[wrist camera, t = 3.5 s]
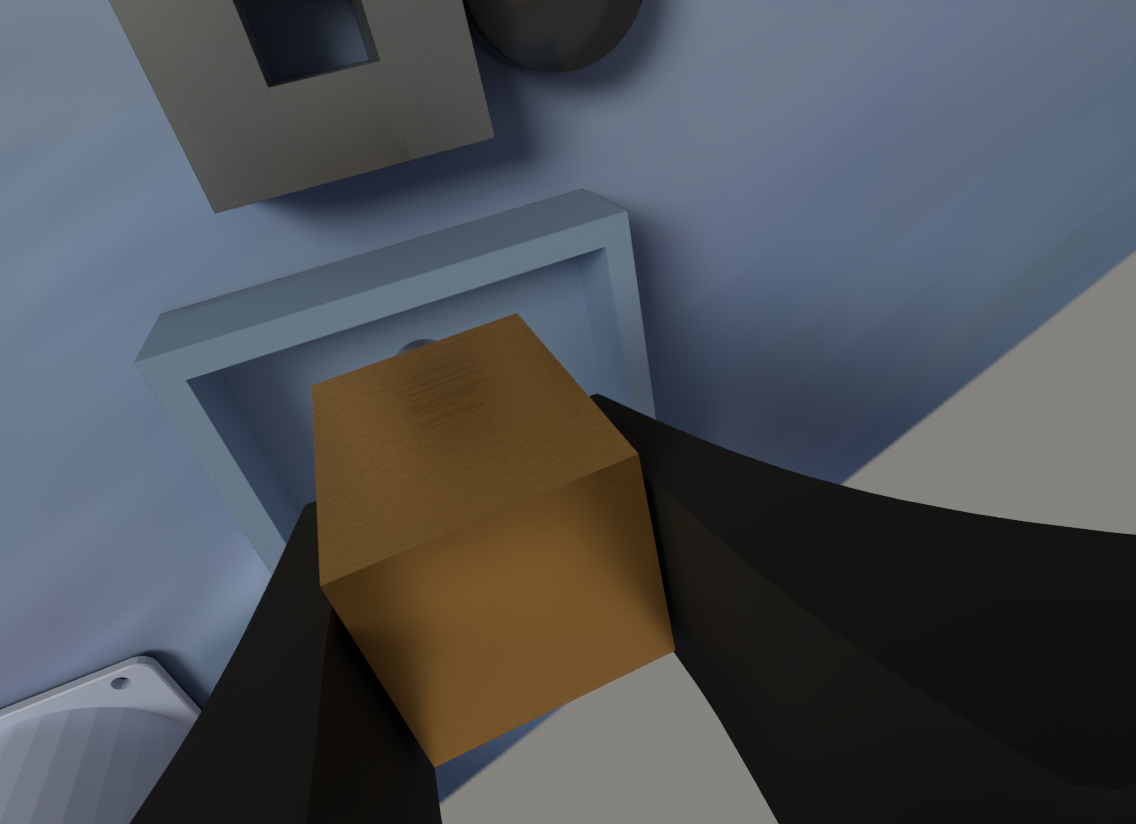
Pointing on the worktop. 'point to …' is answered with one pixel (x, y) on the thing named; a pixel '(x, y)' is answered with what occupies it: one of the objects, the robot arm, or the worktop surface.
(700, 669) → the robot arm
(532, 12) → the block
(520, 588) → the orange rectangular block
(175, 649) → the worktop surface
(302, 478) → the tray
